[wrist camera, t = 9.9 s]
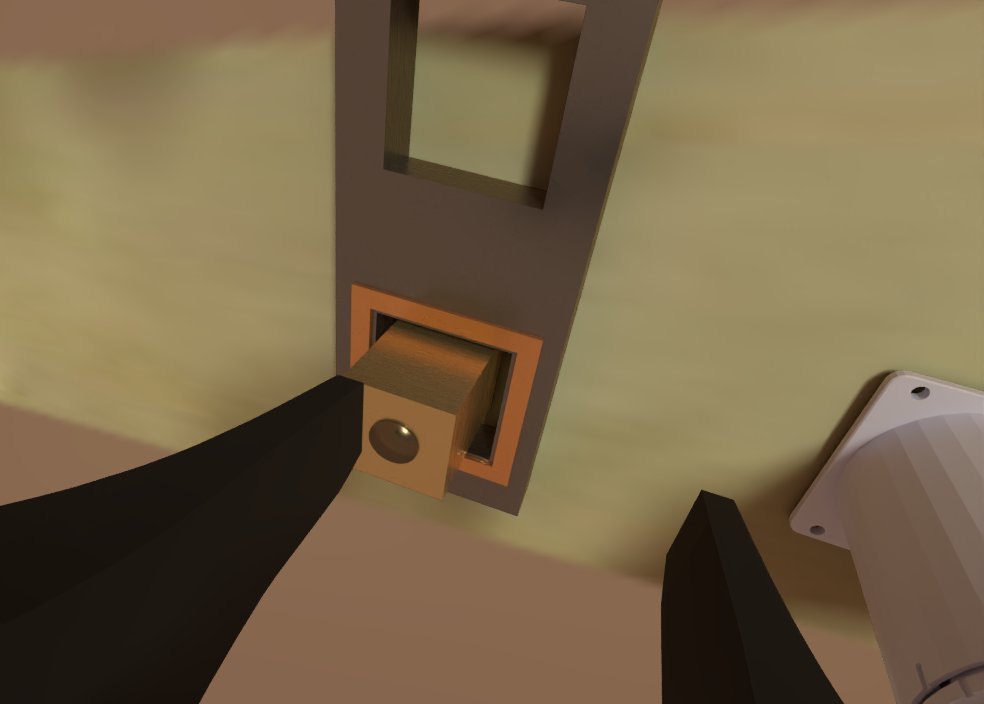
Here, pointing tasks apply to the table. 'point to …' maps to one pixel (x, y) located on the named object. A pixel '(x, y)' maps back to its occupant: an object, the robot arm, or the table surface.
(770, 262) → the table surface
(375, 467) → the tan square knob peg
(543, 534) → the table surface
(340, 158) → the grey slotted board
